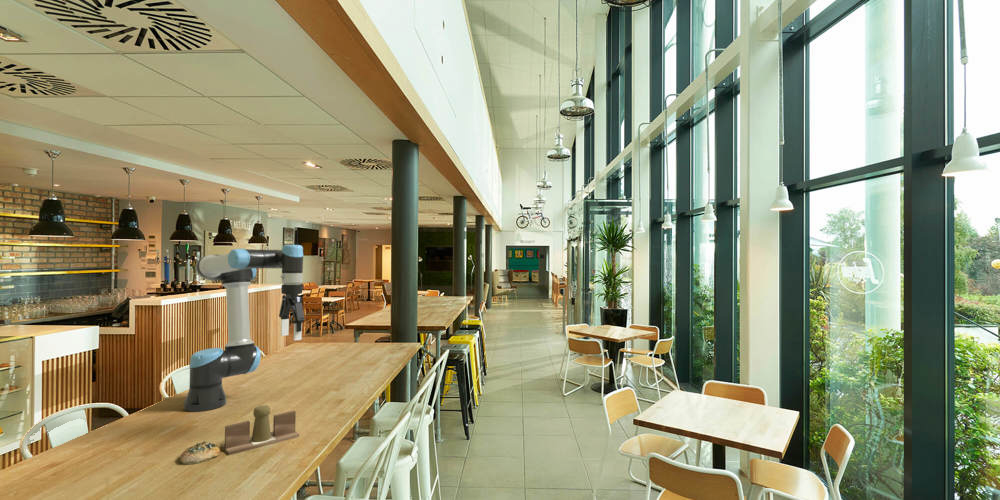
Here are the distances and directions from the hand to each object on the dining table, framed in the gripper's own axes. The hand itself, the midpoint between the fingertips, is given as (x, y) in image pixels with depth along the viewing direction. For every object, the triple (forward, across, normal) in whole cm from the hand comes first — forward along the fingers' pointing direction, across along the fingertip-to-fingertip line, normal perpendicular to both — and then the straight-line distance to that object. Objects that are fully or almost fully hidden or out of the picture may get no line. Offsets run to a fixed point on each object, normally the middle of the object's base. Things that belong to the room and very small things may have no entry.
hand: (291, 337), depth 178 cm
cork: (+31, +16, -15) cm, 38 cm away
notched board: (+32, +16, -15) cm, 39 cm away
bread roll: (+32, +16, -33) cm, 49 cm away
